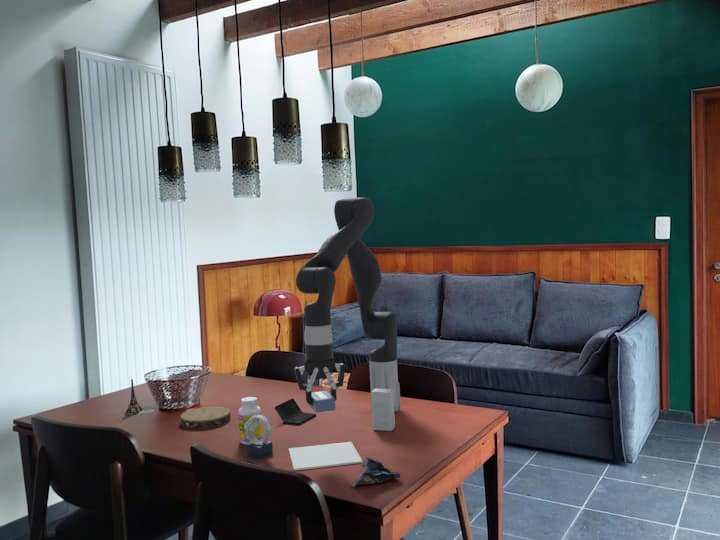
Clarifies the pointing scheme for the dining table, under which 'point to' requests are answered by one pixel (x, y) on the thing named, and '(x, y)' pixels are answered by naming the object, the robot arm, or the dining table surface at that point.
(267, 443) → the watch
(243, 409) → the supplement bottle
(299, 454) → the mat
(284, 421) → the handheld gaming console
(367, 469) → the snack package
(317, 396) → the card deck
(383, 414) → the skincare box
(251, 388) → the dining table surface
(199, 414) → the beige round flat disc
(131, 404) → the eiffel tower figurine
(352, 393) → the dining table surface
